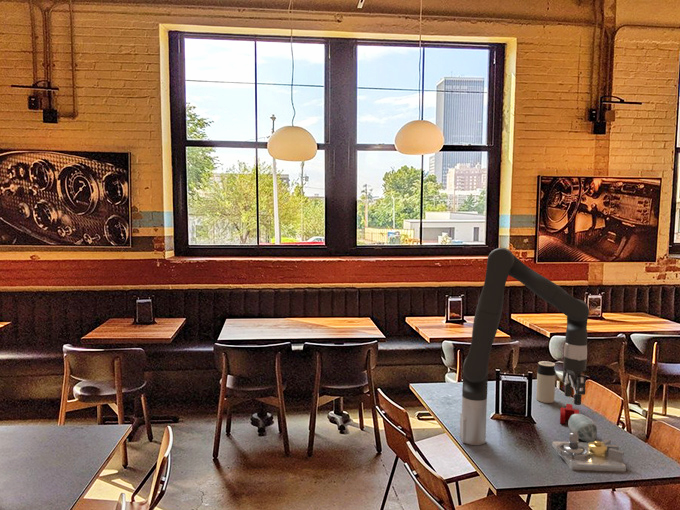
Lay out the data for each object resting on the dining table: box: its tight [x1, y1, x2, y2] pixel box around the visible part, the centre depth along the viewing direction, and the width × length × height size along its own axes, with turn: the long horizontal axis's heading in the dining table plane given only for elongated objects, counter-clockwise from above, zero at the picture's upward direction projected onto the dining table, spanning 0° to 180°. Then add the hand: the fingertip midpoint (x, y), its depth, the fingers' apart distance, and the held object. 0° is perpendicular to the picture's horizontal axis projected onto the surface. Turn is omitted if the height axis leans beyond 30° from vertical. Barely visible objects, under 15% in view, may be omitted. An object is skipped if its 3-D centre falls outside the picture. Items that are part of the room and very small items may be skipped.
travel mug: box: [535, 360, 557, 404], centre depth 243 cm, size 8×8×18 cm
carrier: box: [551, 438, 627, 473], centre depth 184 cm, size 21×18×6 cm
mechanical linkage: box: [559, 403, 580, 425], centre depth 221 cm, size 16×7×5 cm, turn 157°
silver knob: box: [563, 431, 583, 455], centre depth 184 cm, size 6×6×7 cm
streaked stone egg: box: [567, 413, 598, 443], centre depth 203 cm, size 14×10×10 cm
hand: (572, 400), depth 184 cm, fingers open, 8 cm apart
